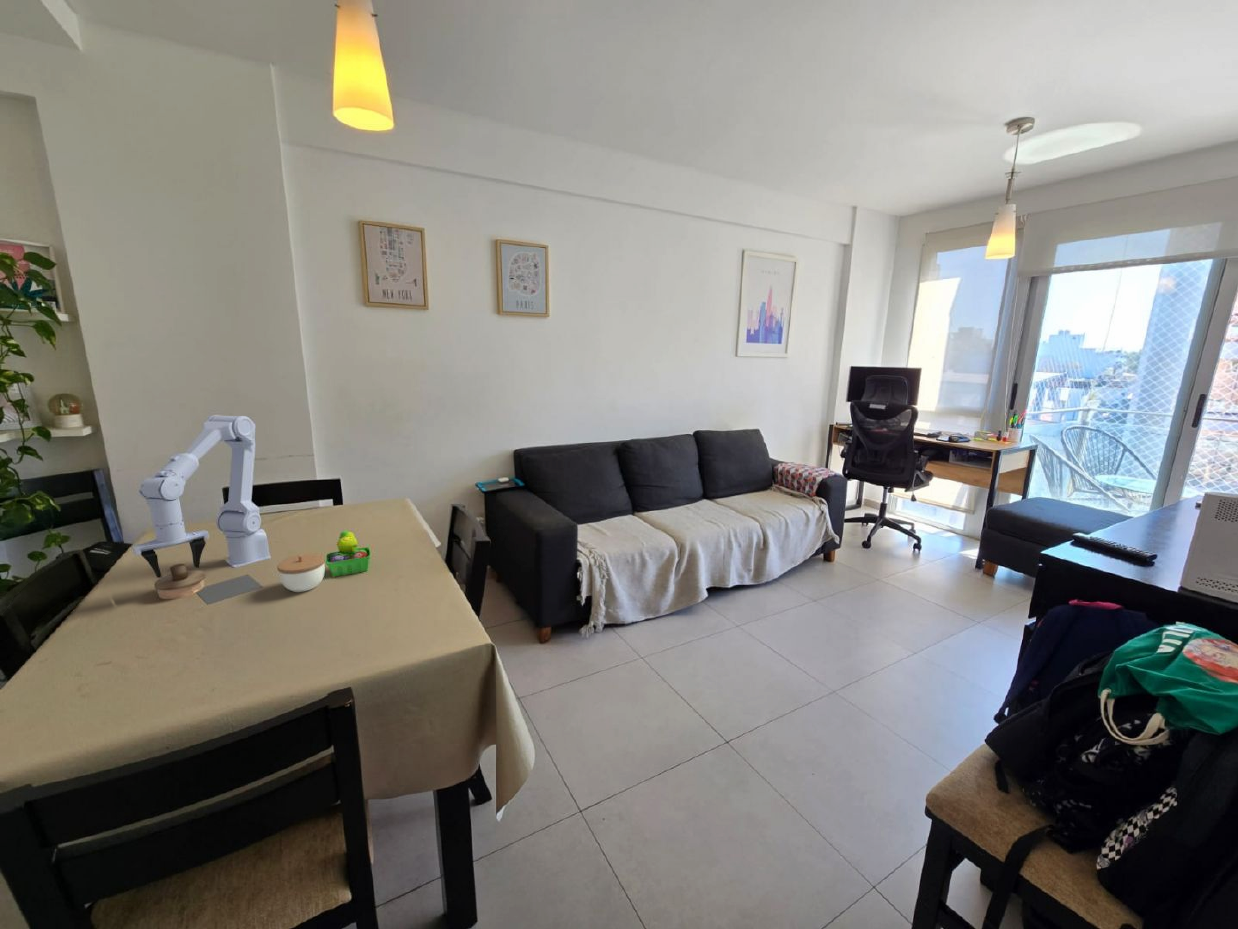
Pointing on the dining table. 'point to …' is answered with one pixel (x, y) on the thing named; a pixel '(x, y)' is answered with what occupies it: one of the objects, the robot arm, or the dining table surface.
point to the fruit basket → (348, 556)
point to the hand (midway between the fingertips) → (178, 571)
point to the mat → (228, 589)
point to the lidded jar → (302, 572)
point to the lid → (179, 578)
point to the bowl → (181, 591)
